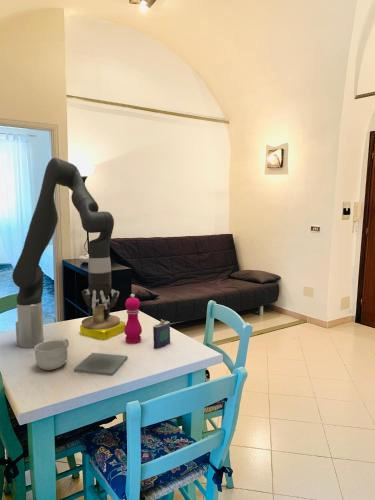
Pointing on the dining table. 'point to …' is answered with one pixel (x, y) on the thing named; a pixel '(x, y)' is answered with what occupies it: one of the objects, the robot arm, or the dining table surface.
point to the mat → (101, 364)
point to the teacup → (51, 354)
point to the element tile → (103, 332)
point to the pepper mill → (132, 321)
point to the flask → (161, 334)
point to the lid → (100, 320)
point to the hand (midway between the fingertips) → (101, 318)
